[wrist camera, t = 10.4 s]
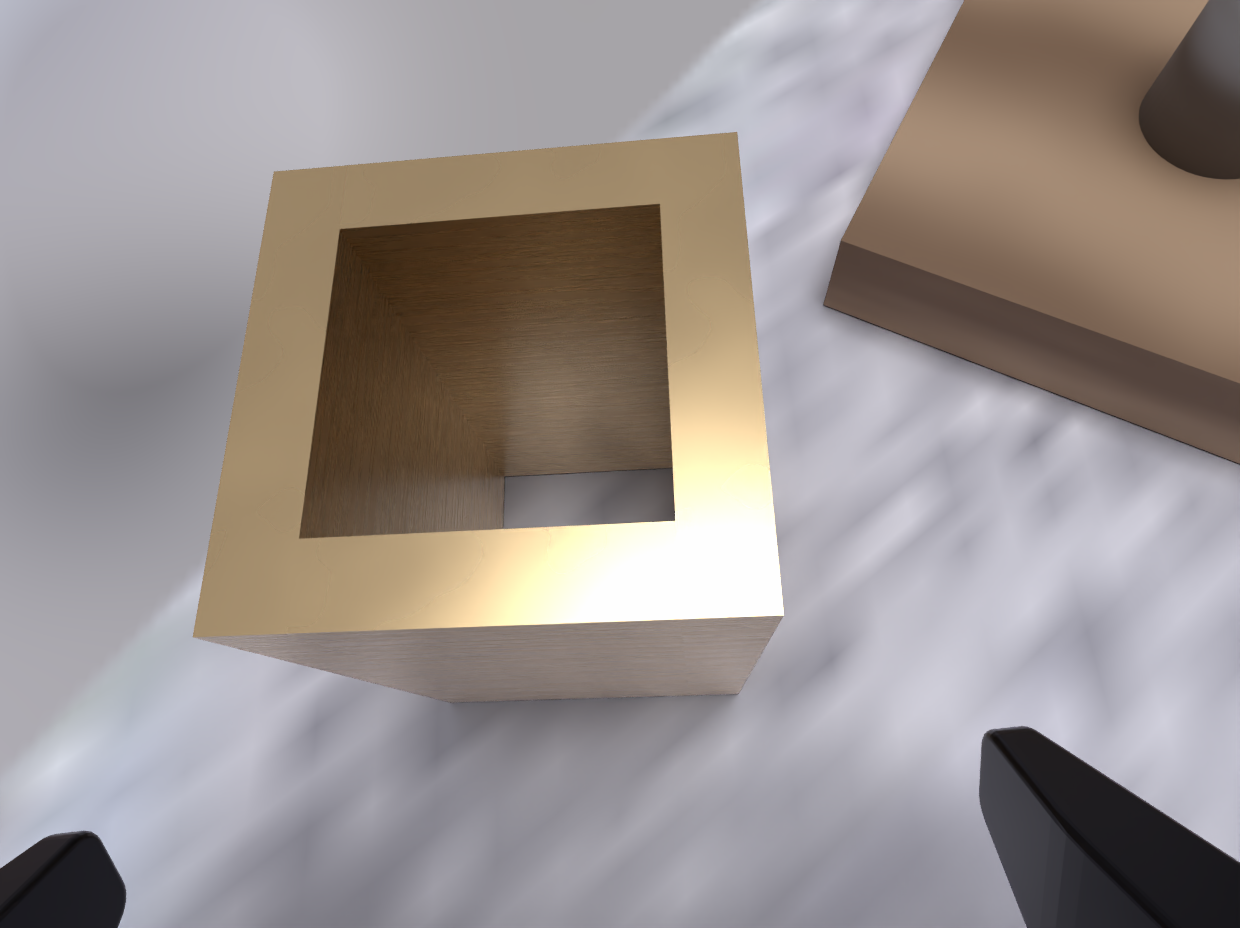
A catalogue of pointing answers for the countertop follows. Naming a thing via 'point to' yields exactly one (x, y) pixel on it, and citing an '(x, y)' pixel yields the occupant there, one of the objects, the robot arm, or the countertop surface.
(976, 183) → the post stand
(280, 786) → the countertop surface
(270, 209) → the collar
